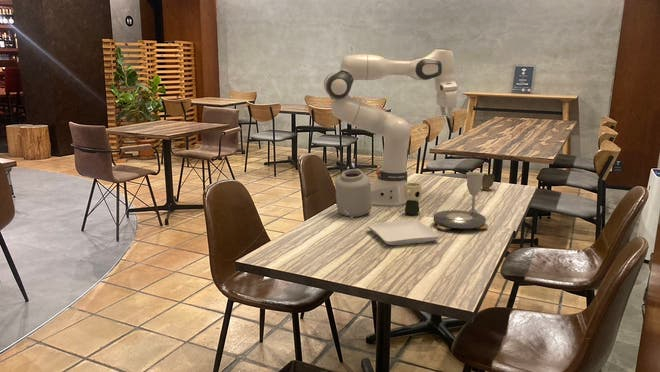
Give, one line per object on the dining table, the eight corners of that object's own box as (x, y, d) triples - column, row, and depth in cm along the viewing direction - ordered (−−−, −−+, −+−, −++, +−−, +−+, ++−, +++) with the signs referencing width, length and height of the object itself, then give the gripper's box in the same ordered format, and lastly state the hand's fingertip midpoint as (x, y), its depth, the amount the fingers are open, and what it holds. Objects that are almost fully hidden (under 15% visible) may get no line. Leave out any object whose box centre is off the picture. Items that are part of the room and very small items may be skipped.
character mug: (414, 218, 229) (415, 187, 226) (398, 215, 233) (399, 185, 230) (424, 212, 238) (425, 182, 235) (409, 209, 242) (410, 180, 239)
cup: (495, 192, 273) (496, 176, 272) (480, 191, 274) (481, 176, 272) (491, 188, 281) (492, 173, 279) (476, 188, 281) (477, 172, 279)
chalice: (480, 213, 236) (482, 172, 232) (482, 218, 229) (485, 175, 225) (462, 213, 237) (465, 171, 233) (464, 217, 230) (467, 175, 226)
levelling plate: (440, 234, 208) (441, 224, 208) (427, 218, 229) (427, 209, 228) (492, 233, 210) (493, 223, 209) (474, 217, 230) (475, 208, 229)
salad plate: (385, 249, 193) (386, 240, 192) (365, 231, 213) (366, 223, 212) (441, 244, 198) (441, 235, 198) (416, 227, 218) (417, 218, 218)
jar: (361, 222, 223) (362, 161, 217) (328, 218, 228) (327, 159, 223) (375, 210, 240) (376, 154, 234) (343, 207, 245) (344, 151, 240)
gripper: (432, 85, 256) (433, 115, 259) (444, 87, 236) (445, 119, 239) (445, 83, 256) (447, 113, 259) (458, 86, 236) (460, 118, 239)
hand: (446, 116), depth 249 cm, fingers open, 8 cm apart
